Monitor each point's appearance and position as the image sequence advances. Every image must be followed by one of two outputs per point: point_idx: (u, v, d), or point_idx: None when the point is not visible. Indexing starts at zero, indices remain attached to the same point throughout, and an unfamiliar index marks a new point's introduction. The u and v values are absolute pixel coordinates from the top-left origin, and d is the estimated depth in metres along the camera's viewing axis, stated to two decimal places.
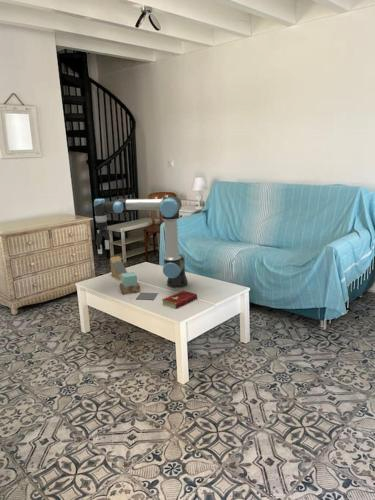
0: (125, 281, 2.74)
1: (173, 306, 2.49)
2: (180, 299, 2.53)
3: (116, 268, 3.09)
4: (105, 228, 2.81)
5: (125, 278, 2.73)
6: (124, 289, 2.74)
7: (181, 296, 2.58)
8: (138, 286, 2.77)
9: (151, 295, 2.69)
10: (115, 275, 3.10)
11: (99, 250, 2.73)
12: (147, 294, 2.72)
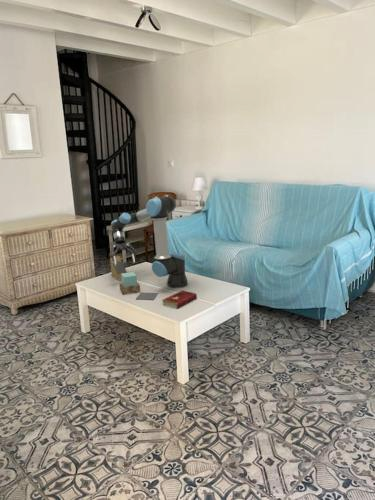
0: (125, 281, 2.74)
1: (174, 306, 2.48)
2: (181, 299, 2.53)
3: (116, 268, 3.09)
4: None
5: (125, 278, 2.73)
6: (124, 289, 2.74)
7: (181, 296, 2.58)
8: (138, 286, 2.77)
9: (151, 295, 2.69)
10: (115, 275, 3.10)
11: (114, 261, 2.85)
12: (147, 294, 2.72)
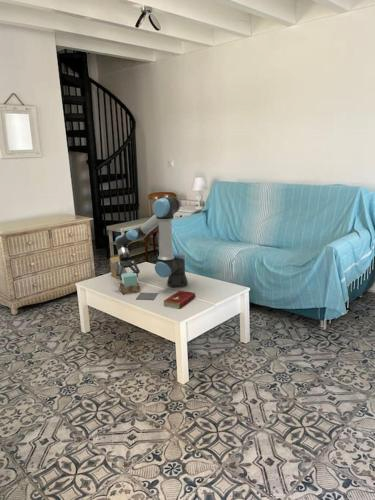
0: (125, 281, 2.74)
1: (176, 306, 2.48)
2: (182, 299, 2.53)
3: (116, 268, 3.09)
4: (133, 261, 2.86)
5: (125, 278, 2.73)
6: (124, 289, 2.74)
7: (181, 296, 2.58)
8: (138, 286, 2.77)
9: (151, 295, 2.69)
10: (115, 275, 3.10)
11: (122, 281, 2.76)
12: (147, 294, 2.72)
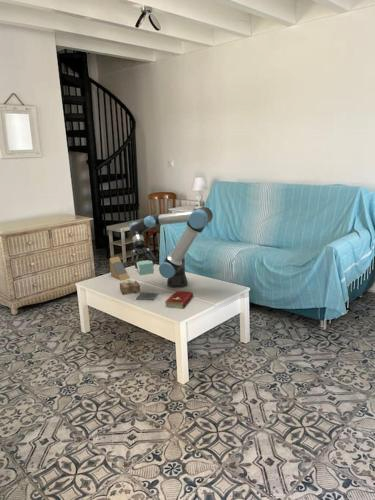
0: (141, 269, 2.59)
1: (179, 306, 2.48)
2: (183, 298, 2.54)
3: (116, 268, 3.08)
4: (148, 249, 2.71)
5: (141, 266, 2.58)
6: (124, 289, 2.74)
7: (181, 296, 2.58)
8: (138, 286, 2.77)
9: (151, 295, 2.69)
10: (115, 275, 3.09)
11: (137, 269, 2.61)
12: (147, 294, 2.72)
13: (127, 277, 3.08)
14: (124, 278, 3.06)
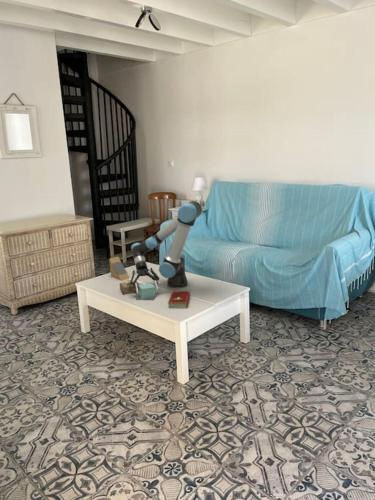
0: (143, 293, 2.63)
1: (183, 306, 2.48)
2: (184, 298, 2.54)
3: (116, 269, 3.08)
4: (150, 269, 2.75)
5: (143, 290, 2.62)
6: (124, 289, 2.74)
7: (180, 296, 2.59)
8: None
9: None
10: (115, 276, 3.09)
11: (136, 289, 2.65)
12: None
13: (127, 277, 3.08)
14: (124, 278, 3.06)
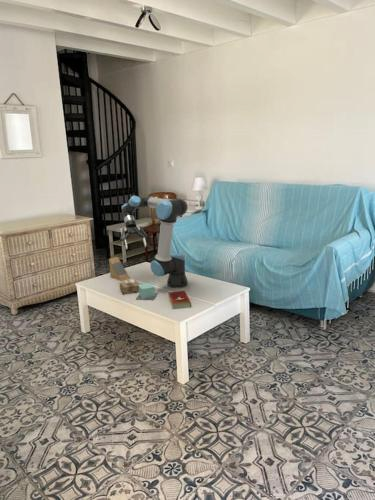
0: (143, 293, 2.63)
1: (187, 305, 2.49)
2: (185, 297, 2.55)
3: (116, 269, 3.07)
4: (139, 228, 2.89)
5: (143, 290, 2.62)
6: (124, 289, 2.74)
7: (179, 296, 2.59)
8: None
9: None
10: (115, 276, 3.08)
11: (125, 245, 2.80)
12: None
13: (127, 277, 3.07)
14: (125, 278, 3.05)
